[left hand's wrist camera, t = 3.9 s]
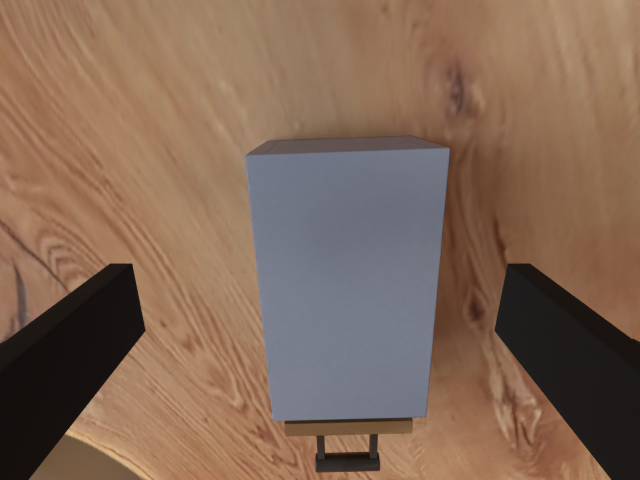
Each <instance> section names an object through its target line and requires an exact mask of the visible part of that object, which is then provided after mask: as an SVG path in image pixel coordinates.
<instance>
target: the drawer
mask: <svg viewBox="0 0 640 480" xmlns="http://www.w3.org/2000/svg"><path fill="white" fill-rule="evenodd" d="M412 424H413V420H412V417H406V418H367V419H329V420H291V421H285V422H284V427H285V436H317V452H318V453H316V472H358V471H380V459H379V453H378V452H377V444H378V434H395V433H412ZM356 434H369V452H343V453H325V441H324V435H356Z"/></svg>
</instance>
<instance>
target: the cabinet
mask: <svg viewBox="0 0 640 480" xmlns="http://www.w3.org/2000/svg"><path fill="white" fill-rule="evenodd" d="M449 157H450V148H448V147H445V146H442V145H439V144H436V143H433V142H430V141H426V140H423V139H420V138H417V137H414V136H392V137H364V138H336V139H309V140H281V141H266V142H265V143H263V144H262V145H260V146H259V147H257V148H256V149H254V150H252V151H251V152H249V153H248V154H246V155H245V162H246V172H247V181H248V191H249V200H250V210H251V219H252V228H253V238H254V247H255V257H256V266H257V276H258V285H259V294H260V304H261V313H262V323H263V332H264V342H265V351H266V361H267V370H268V379H269V389H270V398H271V408H272V417H273V421H291V420H329V419H367V418H406V417H426V411H427V400H428V389H429V378H430V367H431V356H432V345H433V334H434V323H435V312H436V301H437V290H438V279H439V268H440V257H441V245H442V234H443V223H444V212H445V201H446V190H447V179H448V168H449Z"/></svg>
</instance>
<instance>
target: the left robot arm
mask: <svg viewBox="0 0 640 480" xmlns="http://www.w3.org/2000/svg"><path fill="white" fill-rule="evenodd" d="M144 332H145V326H144V321H143V316H142V311H141V306H140V301H139V296H138V291H137V286H136V281H135V275H134V270H133V265H132V264H109V265H108V266H106V267H105V268H104V269H102V270H101V271H100V272H98V273H97V274H95V275H94V276H93V277H91V278H90V279H89V280H87V281H86V282H85V283H83V284H82V285H81V286H79V287H78V288H77V289H75V290H74V291H73V292H71V293H70V294H68V295H67V296H66V297H64V298H63V299H62V300H60V301H59V302H58V303H56V304H55V305H54V306H52V307H51V308H50V309H48V310H47V311H45V312H44V313H43V314H41V315H40V316H39V317H37V318H36V319H35V320H33V321H32V322H31V323H29V324H28V325H27V326H25V327H24V328H22V329H21V330H20V331H18V332H17V333H16V334H14V335H13V336H12V337H10V338H9V339H8V340H6V341H4V342H2V343H0V480H29V478H30V477H31V476H32V475H33V473H34V472H35V471H36V470H37V468H38V467H39V466H40V464H41V463H42V462H43V461H44V459H45V458H46V457H47V455H48V454H49V453H50V452H51V450H52V449H53V448H54V447H55V445H56V444H57V443H58V441H59V440H60V439H61V438H62V436H63V435H64V434H65V433H66V431H67V430H68V429H69V427H70V426H71V425H72V424H73V422H74V421H75V420H76V419H77V417H78V416H79V415H80V413H81V412H82V411H83V410H84V408H85V407H86V406H87V405H88V403H89V402H90V401H91V399H92V398H93V397H94V396H95V394H96V393H97V392H98V391H99V389H100V388H101V387H102V385H103V384H104V383H105V382H106V380H107V379H108V378H109V377H110V375H111V374H112V373H113V371H114V370H115V369H116V368H117V366H118V365H119V364H120V363H121V361H122V360H123V359H124V357H125V356H126V355H127V354H128V352H129V351H130V350H131V349H132V347H133V346H134V345H135V343H136V342H137V341H138V340H139V338H140V337H141V336H142V335H143V333H144ZM495 332H496V333H497V335H498V336H499V337H500V338H501V340H502V341H503V342H504V343H505V345H506V346H507V347H508V349H509V350H510V351H511V352H512V354H513V355H514V356H515V357H516V359H517V360H518V361H519V363H520V364H521V365H522V366H523V368H524V369H525V370H526V371H527V373H528V374H529V375H530V377H531V378H532V379H533V380H534V382H535V383H536V384H537V385H538V387H539V388H540V389H541V391H542V392H543V393H544V394H545V396H546V397H547V398H548V399H549V401H550V402H551V403H552V405H553V406H554V407H555V408H556V410H557V411H558V412H559V413H560V415H561V416H562V417H563V419H564V420H565V421H566V422H567V424H568V425H569V426H570V427H571V429H572V430H573V431H574V433H575V434H576V435H577V436H578V438H579V439H580V440H581V441H582V443H583V444H584V445H585V447H586V448H587V449H588V450H589V452H590V453H591V454H592V456H593V457H594V458H595V459H596V461H597V462H598V463H599V464H600V466H601V467H602V468H603V470H604V471H605V472H606V473H607V475H608V476H609V477H610V478H611V480H640V342H639V341H637V340H635V339H631V338H630V337H628V336H627V335H626V334H624V333H623V332H622V331H620V330H619V329H618V328H616V327H615V326H613V325H612V324H611V323H609V322H608V321H607V320H605V319H604V318H603V317H601V316H600V315H599V314H597V313H596V312H595V311H593V310H592V309H590V308H589V307H588V306H586V305H585V304H584V303H582V302H581V301H580V300H578V299H577V298H576V297H574V296H573V295H572V294H570V293H569V292H567V291H566V290H565V289H563V288H562V287H561V286H559V285H558V284H557V283H555V282H554V281H553V280H551V279H550V278H549V277H547V276H546V275H545V274H543V273H542V272H540V271H539V270H538V269H536V268H535V267H534V266H532V265H531V264H508V265H507V270H506V275H505V281H504V286H503V291H502V296H501V301H500V306H499V311H498V316H497V321H496V326H495Z"/></svg>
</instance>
